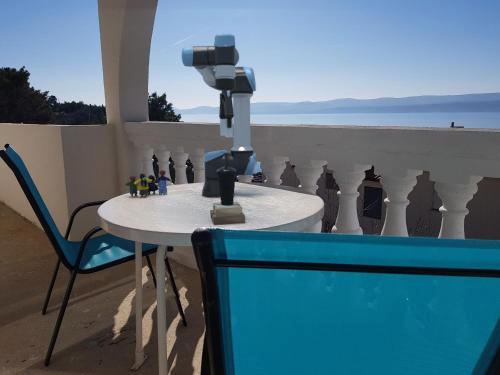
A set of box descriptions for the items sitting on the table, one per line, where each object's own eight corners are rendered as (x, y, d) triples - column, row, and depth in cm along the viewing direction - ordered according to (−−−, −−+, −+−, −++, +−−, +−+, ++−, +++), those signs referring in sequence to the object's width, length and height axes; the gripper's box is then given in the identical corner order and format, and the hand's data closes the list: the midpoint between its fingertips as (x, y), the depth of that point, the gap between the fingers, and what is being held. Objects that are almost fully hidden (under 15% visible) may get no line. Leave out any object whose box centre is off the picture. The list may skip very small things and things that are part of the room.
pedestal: (210, 217, 151) (210, 201, 150) (239, 215, 153) (239, 200, 152) (213, 225, 139) (213, 208, 138) (245, 223, 142) (245, 207, 140)
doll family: (165, 192, 205) (164, 168, 202) (174, 194, 198) (172, 169, 196) (125, 198, 189) (123, 172, 187) (133, 200, 183) (131, 174, 180)
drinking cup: (217, 202, 148) (216, 152, 145) (236, 201, 149) (235, 152, 145) (217, 206, 141) (216, 154, 137) (237, 206, 142) (236, 154, 138)
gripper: (211, 81, 148) (212, 135, 152) (219, 74, 124) (220, 138, 128) (230, 82, 150) (230, 135, 153) (241, 74, 126) (242, 137, 129)
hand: (226, 136), depth 141 cm, fingers open, 13 cm apart
